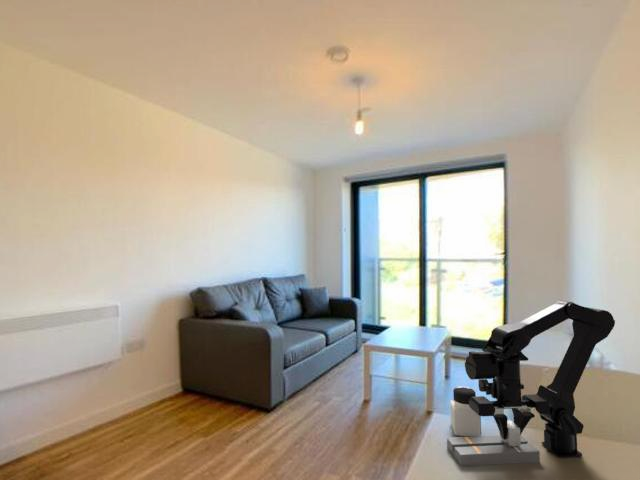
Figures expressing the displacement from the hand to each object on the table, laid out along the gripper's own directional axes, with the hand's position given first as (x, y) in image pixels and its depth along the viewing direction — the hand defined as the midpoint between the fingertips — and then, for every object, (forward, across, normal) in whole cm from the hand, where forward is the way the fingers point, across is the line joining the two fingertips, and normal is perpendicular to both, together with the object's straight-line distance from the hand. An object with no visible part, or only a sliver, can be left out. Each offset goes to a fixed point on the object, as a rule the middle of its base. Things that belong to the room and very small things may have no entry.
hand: (510, 438), depth 91 cm
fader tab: (+2, 0, 0) cm, 2 cm away
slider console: (+4, +5, 0) cm, 6 cm away
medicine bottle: (+4, +6, -12) cm, 14 cm away
